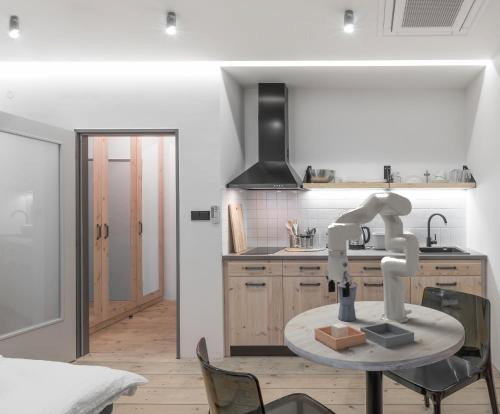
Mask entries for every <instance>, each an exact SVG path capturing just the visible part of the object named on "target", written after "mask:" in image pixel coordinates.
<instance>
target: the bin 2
mask: <svg viewBox="0 0 500 414" xmlns="http://www.w3.org/2000/svg"><path fill="white" fill-rule="evenodd" d="M359 331H361V332H363V333H366V340H368V341H370V342H372V343H375V344H377V345H379V346H381V347H383V348H385V349H388V348H392V347H396V346H397V347H398V346H401V345H405V344H411V343H414V342H415V332H414V331H411V330H409V329H406V328H404V327H401V326H398V325H395V324H392V323H391V322H389V321H388V322H387V321H386V322H383V323H381V322H380V323H376V324H372V325H367V326H362V327H360V330H359Z"/></svg>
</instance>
